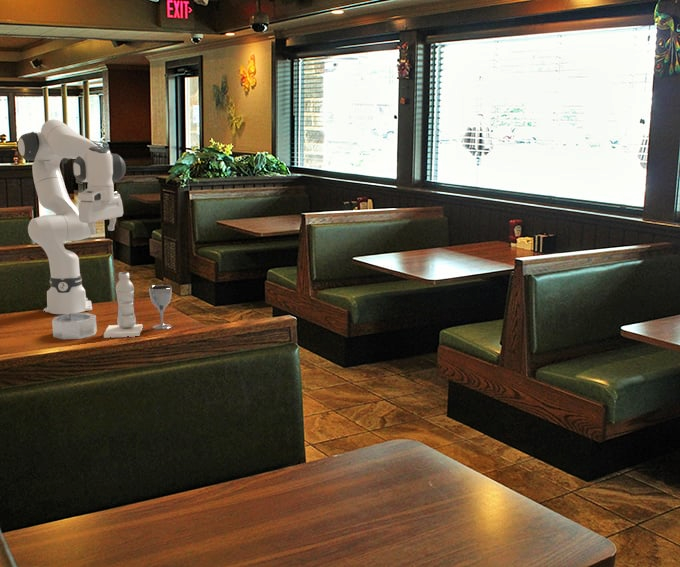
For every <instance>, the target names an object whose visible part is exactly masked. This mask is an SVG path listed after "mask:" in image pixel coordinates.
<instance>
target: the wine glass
mask: <svg viewBox="0 0 680 567" xmlns="http://www.w3.org/2000/svg"><path fill="white" fill-rule="evenodd" d="M172 289H173V288H172V285H168V284H158V285H151V286H149V290H148V291H149V296H150V297H149V298H150V301H151V303H152V304H153V306H154V307H155V308H157V310H158V312H159V314H160V315H159V316H160V323H159V324H156V325H154V326H152V327H151V328H152V329H155V330H167V329H171V328H172V327H173V325H172V324H168V323H167V324H166V323H164V311H165V309H166V308H167V307H168V305H169V304H170V302H171V300H172V293H173V292H172ZM171 325H172V326H171Z"/></svg>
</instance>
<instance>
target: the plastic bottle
mask: <svg viewBox="0 0 680 567" xmlns="http://www.w3.org/2000/svg"><path fill="white" fill-rule="evenodd" d="M118 279H119V280H118V281H117V283H116V285H115V292H116V297H117V310H118V311H117V317H116V318H117V320H116V322H117V325H119V327H122V328H130V327H133V326H134V325H135V324H137V323H136V322H137V319H136V314H135V308H134V296H135V294H134V293H135V285H134V284H133V282H132V281H131V279H130V273H129V271H128V272H127V271H126V272H125V271H123V272H122V271H121V272H118Z"/></svg>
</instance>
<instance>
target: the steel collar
mask: <svg viewBox="0 0 680 567" xmlns="http://www.w3.org/2000/svg"><path fill="white" fill-rule="evenodd" d="M51 325H52V336H53V338H56V339H59V340H80V339H81V340H82V339H84V338H85V339H86V338H89V337H93V336H95V335H96V333H97V332H98V327H97V315H96V314H92V313H89V312H79V313H70V314H59V315H57V316H54V317H53V319H52V320H51Z"/></svg>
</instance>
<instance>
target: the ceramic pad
mask: <svg viewBox="0 0 680 567" xmlns="http://www.w3.org/2000/svg"><path fill="white" fill-rule="evenodd" d="M142 328H143V324H142V323H140V324H139V323H136V324H135V325H134V326H133V327H130V328H122V327H119V325H118V324H114V325H113V324H112V325H110V324H108V326H107V327H106V330H105V331H104V332H103V339H110V337H111V338H112V339H113V338H114V339H115V338H134V337H135V336H139V337H140V335H141V333H142V331H143V329H142ZM127 336H129V337H127ZM135 338H136V337H135Z"/></svg>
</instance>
